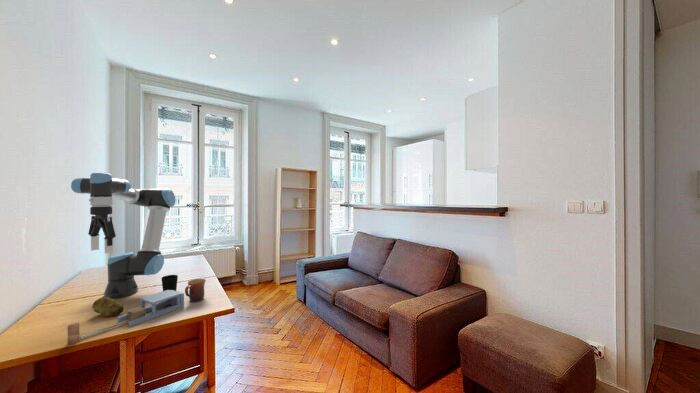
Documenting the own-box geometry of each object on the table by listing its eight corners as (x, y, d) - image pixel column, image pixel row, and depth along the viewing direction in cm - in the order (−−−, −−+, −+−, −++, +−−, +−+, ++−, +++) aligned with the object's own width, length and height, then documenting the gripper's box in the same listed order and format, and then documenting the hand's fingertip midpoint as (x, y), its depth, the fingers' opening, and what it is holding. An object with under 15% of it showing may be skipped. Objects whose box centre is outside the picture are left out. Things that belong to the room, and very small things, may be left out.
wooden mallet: (65, 342, 105) (65, 324, 105) (140, 316, 127) (139, 302, 127) (70, 346, 103) (70, 328, 103) (145, 319, 125) (145, 304, 125)
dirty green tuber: (105, 321, 123) (105, 303, 123) (89, 316, 128) (89, 299, 128) (125, 313, 131) (125, 297, 131) (110, 309, 136) (110, 293, 135)
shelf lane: (117, 321, 123) (117, 305, 123) (171, 302, 144) (171, 288, 144) (130, 326, 118) (130, 309, 118) (184, 306, 139) (183, 292, 139)
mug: (196, 295, 153) (196, 278, 153) (209, 297, 152) (209, 279, 151) (178, 304, 142) (178, 285, 141) (193, 305, 140) (192, 286, 140)
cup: (180, 296, 152) (180, 275, 152) (166, 301, 145) (166, 279, 145) (172, 294, 155) (172, 274, 155) (158, 299, 148) (158, 277, 148)
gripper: (78, 205, 127) (79, 250, 127) (104, 207, 116) (104, 255, 116) (99, 205, 133) (99, 247, 134) (124, 206, 122) (125, 252, 122)
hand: (101, 251), depth 125 cm, fingers open, 13 cm apart
